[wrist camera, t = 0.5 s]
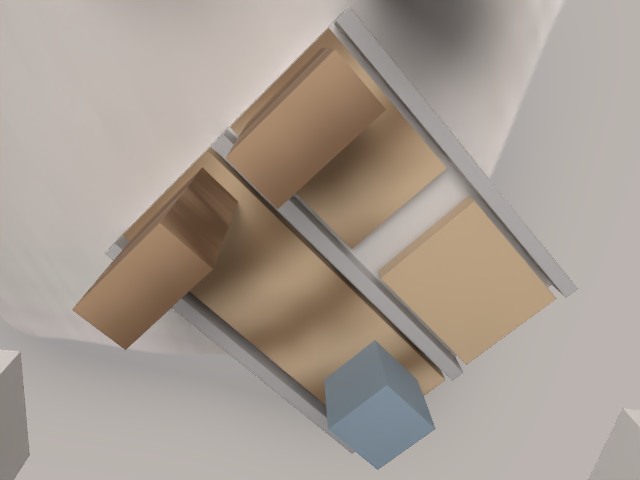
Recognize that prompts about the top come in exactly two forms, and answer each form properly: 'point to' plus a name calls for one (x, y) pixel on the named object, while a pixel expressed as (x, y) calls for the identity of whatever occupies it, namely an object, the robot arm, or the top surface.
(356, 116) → the wooden bookend
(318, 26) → the top surface
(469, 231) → the board
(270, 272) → the tan wooden l-shaped piece
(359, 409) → the block
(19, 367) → the robot arm
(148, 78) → the top surface
